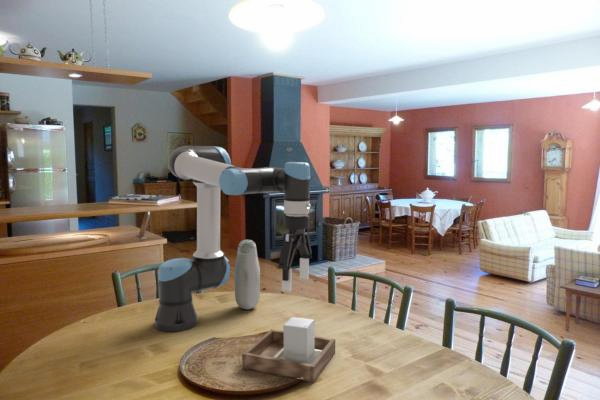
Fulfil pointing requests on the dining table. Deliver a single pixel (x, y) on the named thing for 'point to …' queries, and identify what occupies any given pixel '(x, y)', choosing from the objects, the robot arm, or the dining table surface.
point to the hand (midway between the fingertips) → (295, 284)
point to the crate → (271, 359)
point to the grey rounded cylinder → (247, 275)
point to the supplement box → (299, 340)
